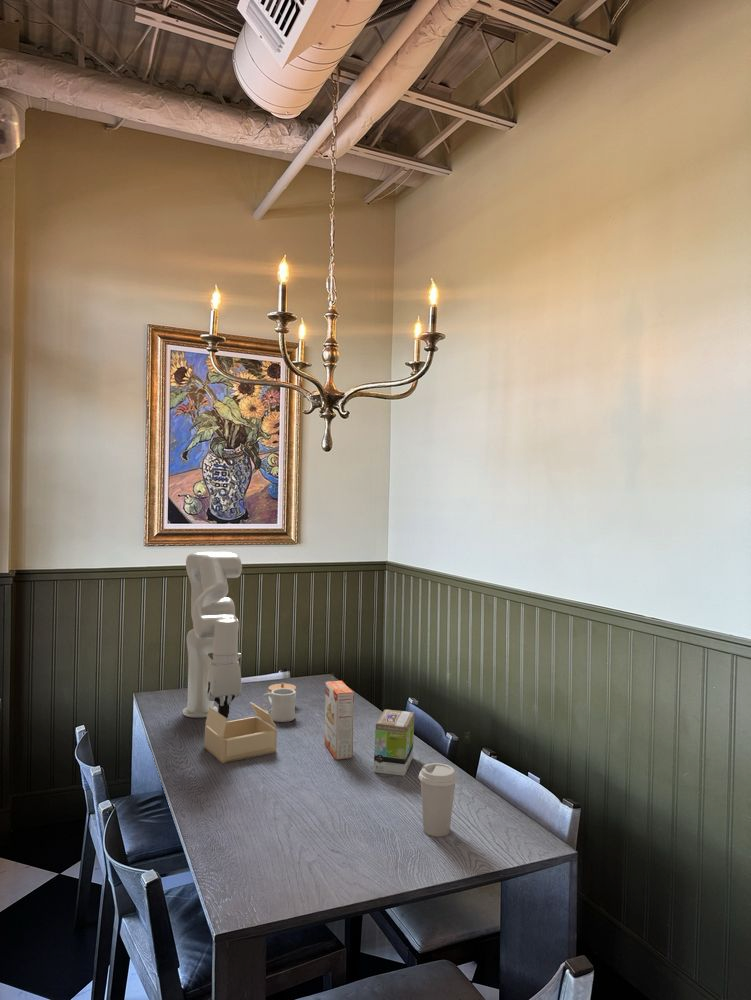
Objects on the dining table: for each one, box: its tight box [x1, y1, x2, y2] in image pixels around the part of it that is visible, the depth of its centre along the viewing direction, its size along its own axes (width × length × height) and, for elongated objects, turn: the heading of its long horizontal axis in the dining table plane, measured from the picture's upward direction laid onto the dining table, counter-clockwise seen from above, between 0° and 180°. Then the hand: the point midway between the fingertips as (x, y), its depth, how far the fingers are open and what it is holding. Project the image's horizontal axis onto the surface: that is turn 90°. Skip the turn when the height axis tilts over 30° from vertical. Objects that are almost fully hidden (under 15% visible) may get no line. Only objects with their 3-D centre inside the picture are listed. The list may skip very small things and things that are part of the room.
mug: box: [261, 688, 297, 723], centre depth 245 cm, size 12×9×10 cm
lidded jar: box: [267, 682, 297, 706], centre depth 258 cm, size 11×11×9 cm
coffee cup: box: [418, 762, 458, 838], centre depth 165 cm, size 10×10×15 cm
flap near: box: [204, 707, 229, 737], centre depth 209 cm, size 14×6×1 cm
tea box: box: [373, 709, 415, 777], centre depth 205 cm, size 15×10×15 cm, turn 168°
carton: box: [204, 716, 278, 764], centre depth 214 cm, size 16×18×7 cm
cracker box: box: [324, 680, 355, 761], centre depth 215 cm, size 14×6×21 cm, turn 19°
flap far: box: [249, 701, 277, 729], centre depth 218 cm, size 14×6×1 cm
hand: (223, 716), depth 210 cm, fingers closed
